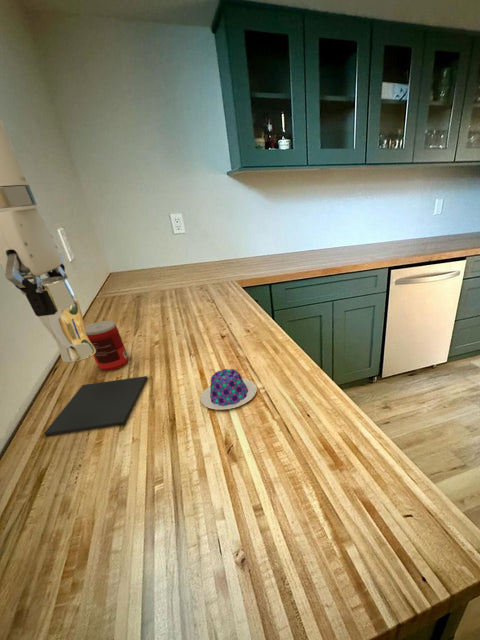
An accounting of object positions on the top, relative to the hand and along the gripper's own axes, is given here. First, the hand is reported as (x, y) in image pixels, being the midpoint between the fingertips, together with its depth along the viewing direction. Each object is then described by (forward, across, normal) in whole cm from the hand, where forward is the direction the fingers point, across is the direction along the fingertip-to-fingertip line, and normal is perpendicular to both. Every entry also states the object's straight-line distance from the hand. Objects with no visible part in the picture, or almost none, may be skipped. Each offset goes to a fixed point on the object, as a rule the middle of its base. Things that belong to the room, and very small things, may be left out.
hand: (57, 307), depth 62 cm
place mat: (+22, 0, 0) cm, 22 cm away
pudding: (+22, +4, +28) cm, 36 cm away
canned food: (+22, -20, -4) cm, 30 cm away
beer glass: (+10, 0, 0) cm, 10 cm away
